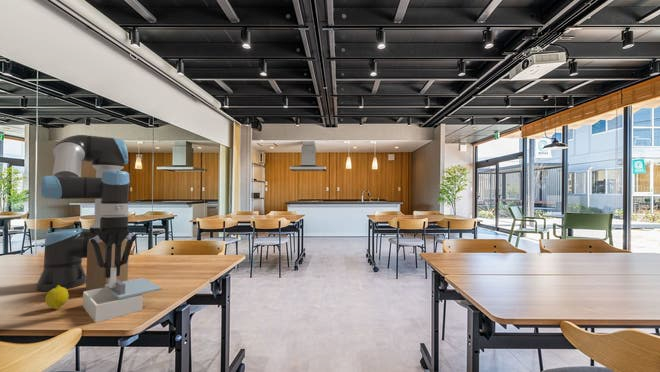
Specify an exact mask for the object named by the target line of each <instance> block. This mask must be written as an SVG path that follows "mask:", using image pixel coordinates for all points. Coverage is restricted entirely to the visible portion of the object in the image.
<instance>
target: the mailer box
mask: <svg viewBox="0 0 660 372" xmlns="http://www.w3.org/2000/svg"><path fill="white" fill-rule="evenodd" d="M143 295H144V294H140V295H136V296H131V297H127V298H123V299H119V298H118V297H116V296H115V295H114V294H113V293H112V292H110V291H109V290H108V289H107V288H106V287H105V288H100V289H95V290H89V291H86V290H84V291H83V292H82V308H83V309H84V310H85V311H86V312H87V314H88V315H89V317H91V319H92V320H93V322H94V323H95V324H96V323H100V322H102V321H107V320H111V319H114V318H118V317H122V316H126V315H129V314H133V313H137V312H141V311H143V302H144V301H143V298H144V297H143Z"/></svg>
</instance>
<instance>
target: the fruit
mask: <svg viewBox="0 0 660 372" xmlns="http://www.w3.org/2000/svg"><path fill="white" fill-rule="evenodd" d="M69 297H70V296H69V290H68V288H67V289H66V288H63V287H60V286H59V285H57V286H56V288H54V289H52V290H50V291H47V294H46V296H45V300H44V301H45V304H46V306H47V307H49V308H51V309H54V310H60V309H61V307H63V305H65V304H66V303H67V301H68V300H69Z"/></svg>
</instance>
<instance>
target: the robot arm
mask: <svg viewBox="0 0 660 372" xmlns="http://www.w3.org/2000/svg"><path fill="white" fill-rule="evenodd" d="M52 151H53V153H52V154H53V156H54V165H53V168H52V175H43V176H42V178H41V180H40V181H41V182H40V196H41V197H42V198H44V199H54V200H61V199H63V200H70V199H71V200H72V199H77V200H78V199H79V200H81V199H84V200H85V199H86V200H88V199H89V200H92V199H94V216H93V217H94V218H93V219H94V220H93V221H94V222H93V223H92V224H91V225H90V226H89V230H84V229H83V228H82V227H79V228H78V227H77V228H70V229H69V228H68V229H61V230H58V231H53V232H50V233H48V234H46V235H45V238H44V244H43V247H44V256H43V269H42V272H41V274H40V276H39V278H38V281H37V283H36V291H41V292H49V291H50V290H52V289H54V288H56V286H57V285H59V286H60V287H63V288H66V289H67V290H68V289H70V288H71V289H72V288H74V287H79V286H82V285H85V284H86V273H85V272H86V271H85V269H84V268H83V265H82V263H83V262H82V261H83V260H82V259H87V244H88V242H90V243H91V244H92V245H93V248H94V252H95V256H96V259H97V263H98V266H100V267H104V268H105V277H106V278H109V282H108V287H110V288H114V287H116V276H119V275H120V267H121V265H123V264H126V263H127V261H128V262H129V257H130V254H131V251H132V247H133V244H134V242H135V241H136V239H137V237H138V236H137V235H135V234H132V233H130V230H129V217H128V215H129V194H130V193H129V192H130V183H131V181H130V173H129V172H128V171H123V169H124V168H125V165H128V163H129V153H128V147H127V143H126V141H125V140H123V139H120V138H114V137H105V136H95V135H87V134H86V135H85V134H76V135H71V136H67V137H65V138H63V139H61V140H59V141H58V142H57V143H56V144H55V145H54V148H53V150H52ZM82 162H87V163H88V162H89V163H90V162H91V166H92V168H93V169H95V177H93V176H92V177H91V176H89V177H87V176H86V177H85V176H82ZM125 238H126V239H128V241H127V243H126V246H125V250H124V253H123V256H122V259H121V246H122V242H123V241H124V239H125ZM99 239H101V240H102V241H103V242H104V243H105V247H106V250H105V263H104V261H103V258H102V254H101V251H100V247H99V244H98V243H99ZM112 244H115V262H114V265H115V266H112V267H111V258H112Z"/></svg>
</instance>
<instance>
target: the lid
mask: <svg viewBox="0 0 660 372" xmlns="http://www.w3.org/2000/svg"><path fill="white" fill-rule="evenodd" d="M105 287H106V288H107V289H108V290H109V291H110V292H112V293H113V294H114V295H115V296H116V297H118V298H119V299H123V298H127V297H131V296H136V295H140V294H142V295H144V294H149V293H153V292H157V291H161V290H163V287H161V286H159V285H157V284H156V283H154V282H153V281H150V280H149V279H147V278H146V277H139V278H134V279H128V281H123V282H121V281H120V280H118V279H117V278H116V287H114V288H110V287H108V284H107V285H105Z"/></svg>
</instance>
